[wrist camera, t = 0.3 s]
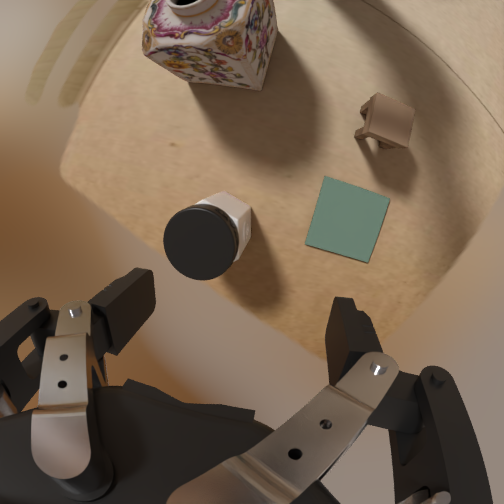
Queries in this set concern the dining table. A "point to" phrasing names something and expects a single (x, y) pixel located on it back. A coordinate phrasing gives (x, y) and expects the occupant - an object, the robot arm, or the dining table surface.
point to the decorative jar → (212, 40)
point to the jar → (208, 236)
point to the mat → (346, 219)
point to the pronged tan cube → (387, 121)
